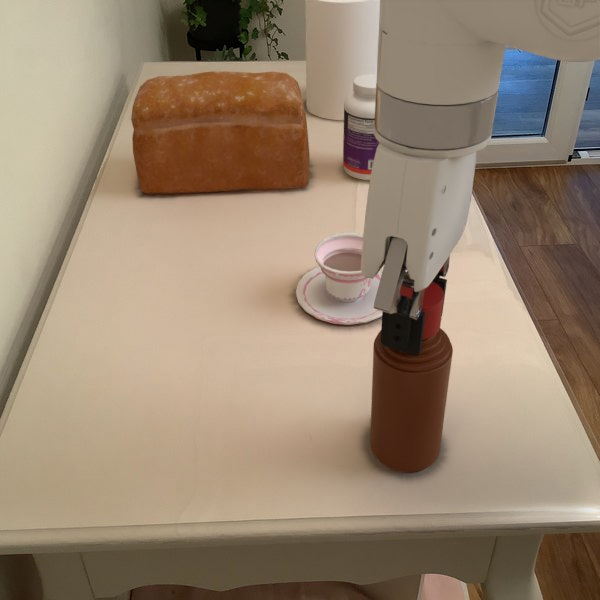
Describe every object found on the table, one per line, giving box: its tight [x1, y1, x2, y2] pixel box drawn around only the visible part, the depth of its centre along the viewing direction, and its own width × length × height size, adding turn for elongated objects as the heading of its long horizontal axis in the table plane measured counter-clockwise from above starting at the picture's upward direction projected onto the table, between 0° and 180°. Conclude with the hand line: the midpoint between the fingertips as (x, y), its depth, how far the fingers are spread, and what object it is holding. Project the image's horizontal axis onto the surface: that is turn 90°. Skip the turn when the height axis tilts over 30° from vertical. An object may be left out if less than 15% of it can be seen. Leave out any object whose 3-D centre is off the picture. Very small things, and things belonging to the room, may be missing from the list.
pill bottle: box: [342, 74, 380, 181], centre depth 101 cm, size 8×8×14 cm
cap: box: [400, 281, 445, 340], centre depth 53 cm, size 4×4×3 cm
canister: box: [304, 0, 380, 121], centre depth 121 cm, size 14×14×20 cm
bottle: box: [369, 327, 454, 473], centre depth 57 cm, size 6×6×17 cm
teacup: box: [295, 231, 383, 326], centre depth 79 cm, size 12×12×6 cm
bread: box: [130, 71, 310, 195], centre depth 101 cm, size 14×26×16 cm, turn 93°
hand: (411, 329), depth 54 cm, fingers closed on cap, 3 cm apart
